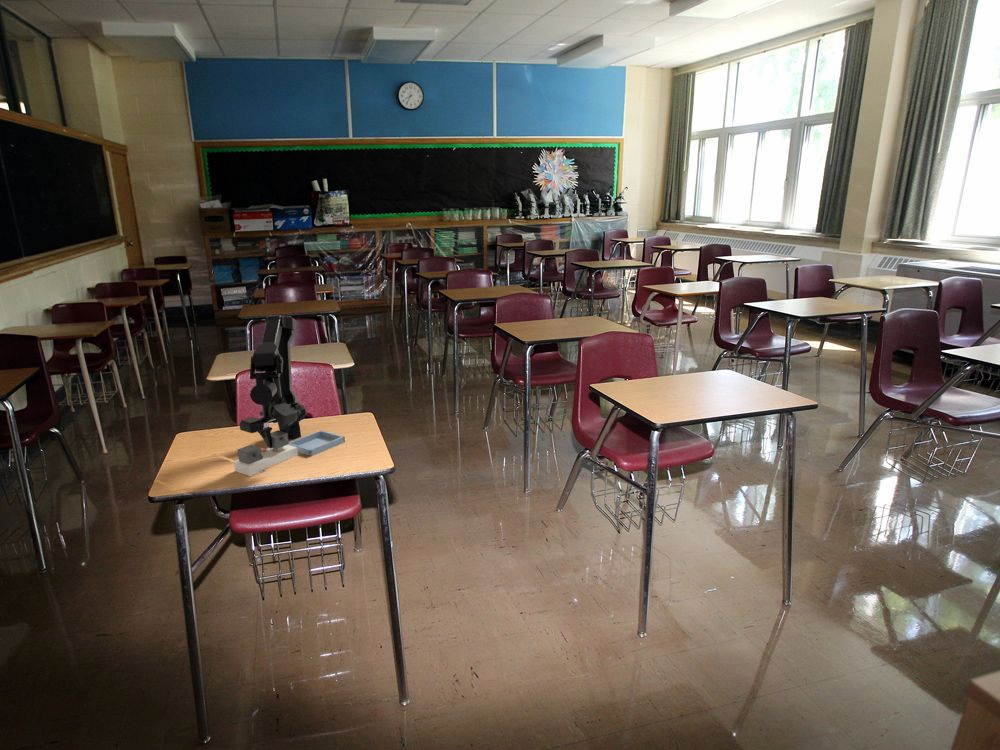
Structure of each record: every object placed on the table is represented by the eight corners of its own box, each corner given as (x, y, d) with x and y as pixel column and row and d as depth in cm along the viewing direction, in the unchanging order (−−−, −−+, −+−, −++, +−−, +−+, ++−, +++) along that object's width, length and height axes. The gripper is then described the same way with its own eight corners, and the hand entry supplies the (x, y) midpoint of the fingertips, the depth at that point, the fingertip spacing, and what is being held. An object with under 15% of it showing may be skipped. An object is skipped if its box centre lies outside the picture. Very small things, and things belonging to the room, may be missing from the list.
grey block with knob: (267, 454, 181) (265, 434, 180) (280, 449, 185) (278, 430, 183) (281, 458, 178) (278, 438, 176) (294, 453, 181) (291, 434, 180)
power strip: (235, 471, 175) (232, 449, 173) (283, 452, 188) (280, 432, 186) (255, 478, 170) (251, 456, 168) (303, 458, 182) (300, 437, 181)
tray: (287, 450, 189) (286, 443, 188) (321, 437, 199) (321, 430, 198) (311, 457, 183) (310, 450, 182) (345, 443, 193) (344, 436, 192)
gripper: (259, 407, 165) (266, 462, 170) (315, 390, 180) (321, 440, 184) (234, 401, 172) (242, 454, 176) (291, 384, 186) (297, 433, 190)
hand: (277, 445), depth 181 cm, fingers closed on grey block with knob, 4 cm apart
